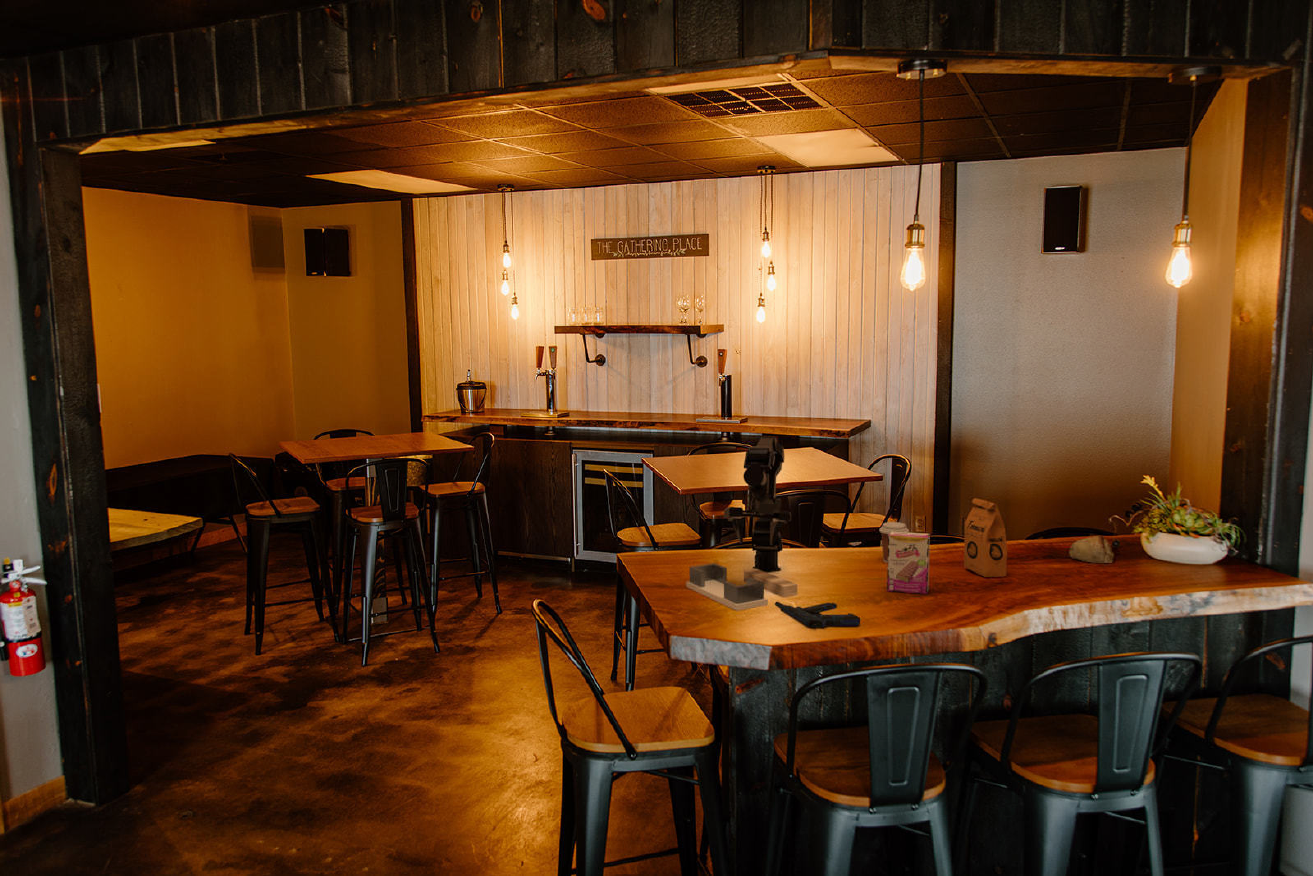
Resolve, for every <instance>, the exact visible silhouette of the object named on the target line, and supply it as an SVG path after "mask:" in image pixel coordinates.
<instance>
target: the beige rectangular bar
mask: <svg viewBox="0 0 1313 876" xmlns="http://www.w3.org/2000/svg"><path fill="white" fill-rule="evenodd" d="M750 577H751V578H753V579H755V580H758V581H760V582H763V583H764V591H767V592H769V593H772V594H775V595H777V596H779V597H782V598H790V597H796V596H798V584H797V583H795V582H793V581H790V580H787V579H785V578H782V577H779V576H776V575H774V574H772V573H770V572H764V571H761V570H758V569H754V568H752V569H746V570H743V582H745V583H747V578H750Z"/></svg>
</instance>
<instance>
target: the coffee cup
mask: <svg viewBox="0 0 1313 876" xmlns="http://www.w3.org/2000/svg"><path fill="white" fill-rule="evenodd" d="M878 531H879V532H880V533H881V544H882V545H881V546H882V556H883V559H882V560H883V563H886V564H888V535H889V532H890V531H892V532H907V533H910V530H909V529H908V528H907V524H905V523H904V522H903V523H902V522H898V521H897V522H896V521H890V522H889V521H888V522H884V523H882V526H881V527H880V528H879V530H878Z"/></svg>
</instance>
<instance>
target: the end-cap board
mask: <svg viewBox="0 0 1313 876" xmlns="http://www.w3.org/2000/svg"><path fill="white" fill-rule="evenodd" d="M685 584H686V588H688V589H690V590H692V591H694V592H695V593H698V594H700V595H702V596H704V597H707V598H708V599H711V600H713V601H715V602H717V603H719V604H722V605H723V606H726V607H728V608H729V609H732V610H734V611H736V612H737V611H743V610H748V609H753V608H759V607H764V606H768V605H769V604H768V603H769V602H768V601H769V599H768V598H765V597H764V599H762V600H757V601H751V602H746V603H741V604H736V603H734V602H731V601H729V600H727V599H725V598H724V584H723V583H721V582H718V581H716V580H710V581H705V587H699V586H697V585H695V584H693V583H690V580H689V581H686V583H685Z"/></svg>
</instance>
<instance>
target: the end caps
mask: <svg viewBox="0 0 1313 876" xmlns="http://www.w3.org/2000/svg"><path fill="white" fill-rule="evenodd" d="M727 571H728V569H727V567H726V566H723V565H720V564H718V563H716V562H713V563H705V564H701V565H694V566H689V581H690V583H693V584H695V585H697V586H699V587H705V581H710V580H716V581H718V582H721V583H723V584H724V598H725V599H727V600H729V601H731V602H734V603H736V604H741V603H746V602H751V601H757V600H762V599H764V598H765V590H764V583H763V582H760V581H758V580H755V579H753V578H751V577H750V578H747V582H746V583H744V584H739V585H738V584H735V583H733V582H730V581H728V577H727V576H728V575H727V574H728V572H727Z"/></svg>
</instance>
